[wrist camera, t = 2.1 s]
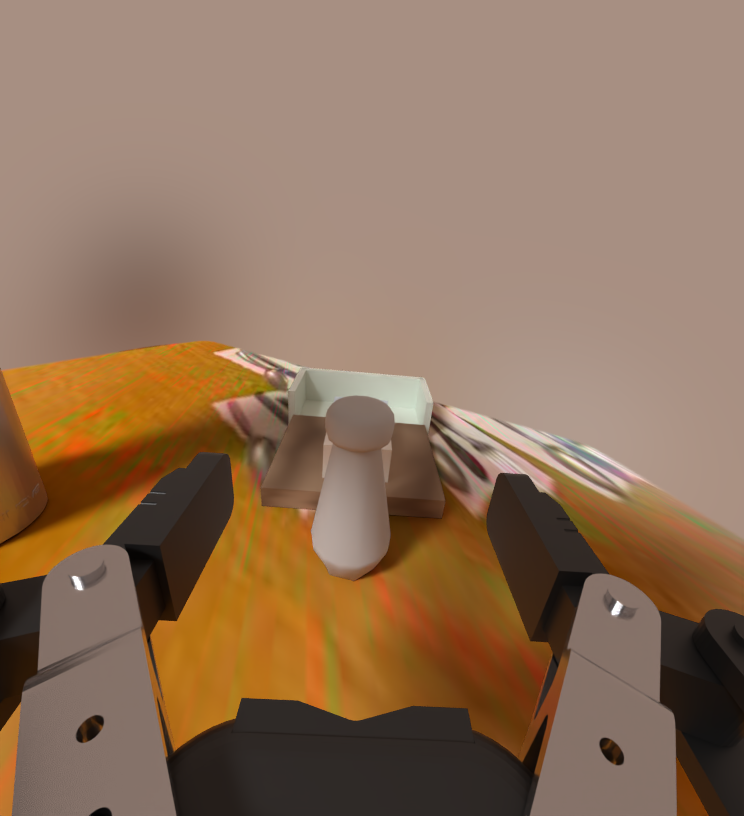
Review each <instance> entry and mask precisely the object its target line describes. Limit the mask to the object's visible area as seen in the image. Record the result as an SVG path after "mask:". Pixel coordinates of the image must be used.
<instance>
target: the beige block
mask: <svg viewBox="0 0 744 816" xmlns="http://www.w3.org/2000/svg"><path fill="white" fill-rule="evenodd" d="M332 445H333V443H332V442H331V441H329V439H328V435H327V432H326V436H325V440H324V444H323V470H322V478H324V477H325V473H326V469H327V465H328V461H329V457H330V453H331V449H332ZM381 451H382V460H383V469H384V479H385V482H387V483H388V476H389V469H390V461H391V454H392V445H391V440H390V442H389V444H388V445H386V446H385V447H383V448H381Z"/></svg>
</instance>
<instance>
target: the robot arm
mask: <svg viewBox="0 0 744 816" xmlns="http://www.w3.org/2000/svg"><path fill="white" fill-rule="evenodd" d="M47 500H48V498H47V493H46V490H45V488H44V485H43V482H42V480H41V477H40V474H39V471H38V469H37V466H36V463H35V461H34V458H33V455H32V452H31V449H30V446H29V444H28V441H27V438H26V436H25V433H24V430H23V428H22V425H21V422H20V420H19V417H18V414H17V412H16V409H15V406H14V404H13V401H12V398H11V395H10V393H9V390H8V387H7V385H6V382H5V379H4V377H3V374H2V371H1V369H0V543H2V542H4V541H6V540H7V539H9V538H11V537H12V536H14V535H16V534H17V533H19V532H20V531H22V530H23V529H24V528H26V527H27V526H28V525H30V524H31V523H32V522H33V521H34V520H35V519H36V518H37V517H38V516H39V515H40V514H41V512H42V511H43V510H44V508H45V507H46V503H47ZM233 503H234V494H233V484H232V474H231V464H230V458H229V455H228V454H223V453H208V452H200V453H198V454H197V455H196V457H195V458H194V459H193V460H192V462H191V463H190V464H189V465H188V466H187V468H178V469H176V470H175V471H173V472H171V473H170V474H168V475H166V476H165V477H163V478H162V479H161V480H160V481H159V482H158V483H157V484H156V485H155V486H154V488H153V489H152V490H151V492H150V494H147V496H146V497H145V498H144V499H143V500H142V501H141V504H140V505H138V506H137V507H136V508H135V509H134V510H133V511H132V512H131V514H130V515H129V516H128V517H127V518H126V519H125V520H124V521H123V523H122V524H121V525H120V526H119V527H118V528H117V529H116V530H115V532H114V533H113V534H112V535H111V536H110V537H109V538H108V539H107V541H106V542H105V543H104V544H103V545H99V546H93V547H90V548H86V549H84V550H81V551H79V552H76V553H74V554H72V555H71V556H69V557H67V558H65V559H64V560H63V561H61V562H60V563H58V564H57V565H56V566H55V567H54V568H53V569H52V570H51V571H50V572H49V573H48V575H44V576H39V577H33V578H28V579H23V580H17V581H12V582H7V583H1V584H0V731H1V729H2V728H3V726H4V725H5V724H6V722H7V721H8V719H9V718H10V717H11V715H12V714H13V712H14V711H15V709H16V708H17V707H18V705H19V704H20V702H21V711H20V724H19V736H18V748H17V760H16V772H15V784H14V796H13V808H12V816H677V797H676V756H677V758H678V760H679V761H680V763H681V765H682V767H683V769H684V771H685V772H686V774H687V776H688V778H689V780H690V782H691V783H692V785H693V787H694V789H695V791H696V793H697V794H698V796H699V798H700V800H701V802H702V804H703V805H704V807H705V809H706V811H707V813H708V815H709V816H744V616H742V615H740V614H737V613H735V612H731V611H728V610H722V609H713V610H710V611H708V612H707V613H706V614H705V616H704V617H703V618H702V620H701V621H700V623H696V622H693V621H690V620H687V619H684V618H680V617H677V616H674V615H671V614H668V613H665V612H662V611H659V610H657V608H656V606H655V605H654V603H653V602H652V601H651V600H650V599H649V598H648V596H646V595H645V594H644V593H643V592H642V591H641V590H639V589H638V588H637V587H635V586H634V585H632V584H631V583H629V582H627V581H625V580H623V579H621V578H618V577H616V576H613V575H609V573H608V572H607V570H606V569H605V567H604V566H603V565H602V563H601V562H600V560H599V559H598V558H597V556H596V555H595V553H594V552H593V551H592V549H591V548H590V546H589V545H588V544H587V542H586V541H585V539H584V538H583V536H582V535H581V534H580V533H578V529H577V528H576V527H575V525H574V524H573V522H572V521H570V518H569V517H568V515H567V514H566V512H565V511H564V510H563V508H562V507H561V505H560V504H558V503H557V502H556V501H555V500H553V499H552V498H551V497H550V496H548V495H547V494H546V493H542V492H539V491H538V490H537V488H536V487H535V485H534V484H533V482H532V480H531V479H530V478H529V476H528V475H526V474H511V473H500V474H499V475H498V477H497V479H496V483H495V487H494V490H493V494H492V498H491V501H490V505H489V509H488V513H487V531H488V535H489V537H490V540H491V542H492V545H493V547H494V550H495V552H496V555H497V558H498V560H499V563H500V565H501V568H502V570H503V573H504V575H505V578H506V580H507V583H508V586H509V588H510V591H511V593H512V596H513V598H514V601H515V603H516V606H517V608H518V611H519V613H520V616H521V619H522V621H523V624H524V626H525V629H526V631H527V634H528V636H529V639H530V641H536V642H549V644H550V647H551V649H552V651H553V653H552V655H551V657H550V659H549V662H548V665H547V669H546V672H545V675H544V679H543V682H542V685H541V689H540V692H539V695H538V699H537V702H536V705H535V709H534V712H533V715H532V718H531V722H530V725H529V728H528V731H527V734H526V737H525V740H524V742H523V745H522V747H521V750H520V753H519V755H518V758H517V757H516V756H514V755H513V754H512V753H511V752H510V751H508V750H507V749H506V748H504V747H503V746H501V745H500V744H499V743H497V742H496V741H494V740H493V739H491V738H489V737H487V736H485V735H483V734H481V733H479V732H477V731H474V730H472V728H471V723H470V718H469V713H468V709H466V708H445V707H423V706H411V707H407V708H404V709H400V710H397V711H393V712H389V713H386V714H382V715H378V716H375V717H371V718H367V719H364V720H359V721H352V720H349V719H346V718H343V717H340V716H338V715H335V714H332V713H330V712H327V711H324V710H322V709H319V708H316V707H314V706H311V705H308V704H306V703H303V702H300V701H294V700H272V699H251V698H242V699H241V702H240V706H239V709H238V713H237V716H236V719H232V720H229V721H226V722H223V723H221V724H218V725H216V726H213V727H211V728H209V729H207V730H206V731H204V732H202V733H200V734H198V735H197V736H195V737H194V738H192V739H191V740H189V741H188V742H186V743H185V744H183V745H182V746H181V747H179V748H178V749H177V750H176V748H175V744H174V740H173V736H172V732H171V728H170V723H169V719H168V715H167V710H166V706H165V701H164V696H163V691H162V687H161V682H160V677H159V672H158V668H157V663H156V658H155V654H154V649H153V644H152V640H151V636H150V634H151V633H152V631H153V629H154V627H155V626H156V624H157V622H158V620H167V621H177V619H178V617H179V615H180V613H181V611H182V610H183V608H184V606H185V604H186V602H187V600H188V598H189V596H190V594H191V592H192V590H193V588H194V586H195V584H196V582H197V580H198V579H199V577H200V575H201V573H202V571H203V569H204V567H205V565H206V563H207V561H208V559H209V557H210V555H211V553H212V551H213V549H214V548H215V546H216V544H217V542H218V540H219V538H220V536H221V534H222V532H223V530H224V528H225V526H226V524H227V522H228V520H229V518H230V516H231V513H232V509H233Z"/></svg>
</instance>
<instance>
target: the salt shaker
mask: <svg viewBox="0 0 744 816" xmlns="http://www.w3.org/2000/svg"><path fill="white" fill-rule="evenodd" d="M394 425H395V419H394V413H393V412H392V410H391V408H390V407H389V406H388V405H387V404H386V403H384V402H382V401H380V400H379V399H376V398H372V397H368V396H357V395H355V396H346V397H343V398H340V399H338V400H336V401H335V402H334V403H332V404H331V406H330V407H329V408H328V409H327V413H326V418H325V428H326V432H327V435H328V439H329V441H331V442H332V443H333V445H332V449H331V453H330V457H329V461H328V465H327V469H326V473H325V477H324V481H323V485H322V489H321V493H320V497H319V501H318V505H317V509H316V513H315V517H314V521H313V525H312V530H311V534H312V541H313V548H314V551H315V552H316V554H317V555H318V556H319V557H320V559H321V560H322V561H323V563H324V564H325V566H326V568H327V570H328V572H329V574H330V575H332V576H336V577H340V578H345V579H349V580H353V581H355V580H356V579H358V578H360V577H361V576H363V575H364V574H366V573H368V572H369V571H371V570H372V569H374V568H375V567H376V565H377V564H378V563H379V562H380V561H381V559H382V558H383V557H384V556H385V554H386V553H387V550H388V546H389V541H390V536H391V534H390V524H389V515H388V506H387V497H386V488H385V479H384V469H383V460H382V451H381V448H383V447H385V446H386V445H388V444H389V442H390V440H391V437H392V434H393V430H394Z"/></svg>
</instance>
